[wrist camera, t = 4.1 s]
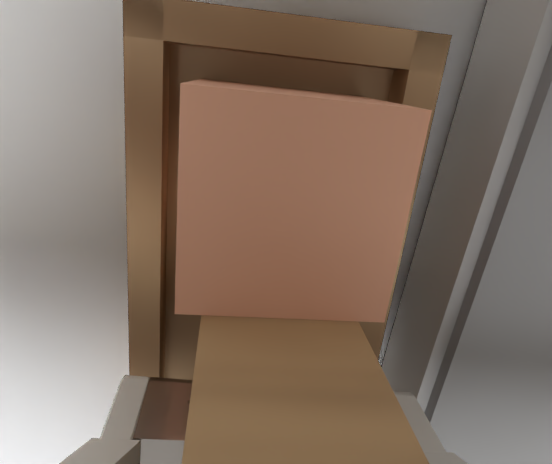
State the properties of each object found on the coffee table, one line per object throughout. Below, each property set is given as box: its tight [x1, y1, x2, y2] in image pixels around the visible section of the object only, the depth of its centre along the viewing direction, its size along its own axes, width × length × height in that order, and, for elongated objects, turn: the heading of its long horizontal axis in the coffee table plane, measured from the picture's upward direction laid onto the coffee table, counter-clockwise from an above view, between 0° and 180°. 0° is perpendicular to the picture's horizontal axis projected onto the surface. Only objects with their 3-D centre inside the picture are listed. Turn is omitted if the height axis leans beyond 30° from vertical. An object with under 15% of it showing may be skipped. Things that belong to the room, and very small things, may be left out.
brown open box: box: [123, 0, 452, 464], centre depth 10 cm, size 16×7×10 cm, turn 174°
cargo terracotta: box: [174, 79, 432, 323], centre depth 9 cm, size 4×4×4 cm
